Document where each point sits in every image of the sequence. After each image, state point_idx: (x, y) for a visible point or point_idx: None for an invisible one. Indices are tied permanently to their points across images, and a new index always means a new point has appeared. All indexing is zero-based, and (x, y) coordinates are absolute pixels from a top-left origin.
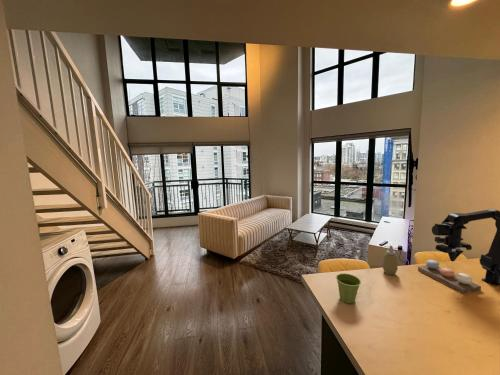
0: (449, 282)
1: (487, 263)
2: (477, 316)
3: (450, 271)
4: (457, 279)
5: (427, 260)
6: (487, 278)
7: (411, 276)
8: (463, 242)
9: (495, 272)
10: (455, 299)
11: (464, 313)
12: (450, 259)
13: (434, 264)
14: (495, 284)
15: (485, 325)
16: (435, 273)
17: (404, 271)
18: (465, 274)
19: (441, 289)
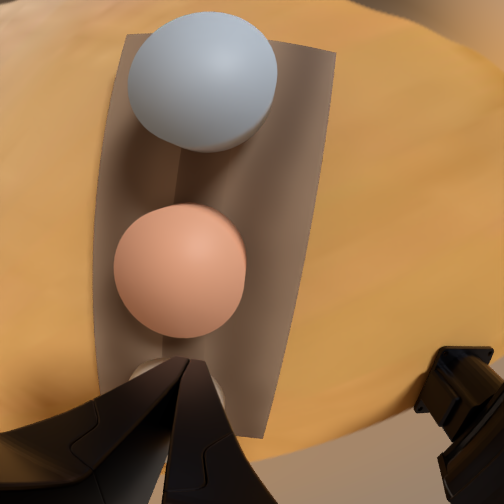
0: (94, 328)
1: (472, 489)
2: None
3: (172, 309)
4: (131, 376)
5: (179, 24)
6: (435, 395)
7: (12, 122)
8: None
9: (442, 472)
10: (34, 382)
11: (6, 418)
12: (160, 368)
13: (149, 128)
14: (422, 408)
15: None
16: (129, 185)
17: (38, 51)
18: None
19: (37, 308)
